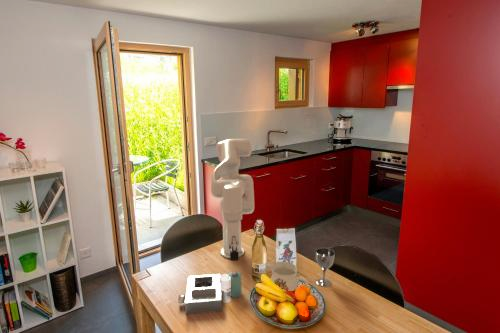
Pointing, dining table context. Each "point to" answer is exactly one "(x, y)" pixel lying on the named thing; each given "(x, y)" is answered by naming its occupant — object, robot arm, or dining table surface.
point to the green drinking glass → (235, 284)
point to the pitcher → (285, 275)
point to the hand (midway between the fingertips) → (233, 254)
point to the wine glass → (324, 264)
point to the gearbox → (202, 294)
